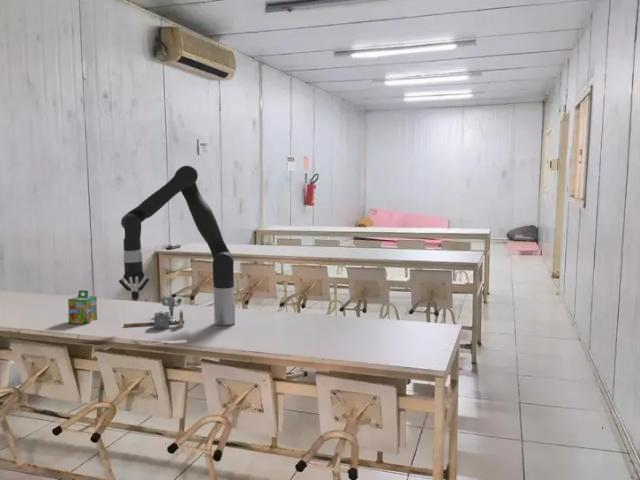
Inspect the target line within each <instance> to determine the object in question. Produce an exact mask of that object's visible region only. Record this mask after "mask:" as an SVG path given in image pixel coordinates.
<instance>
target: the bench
mask: <svg viewBox="0 0 640 480" xmlns="http://www.w3.org/2000/svg"><path fill="white" fill-rule="evenodd" d="M178 311H179V315H178V316H179V320H176V323H169V326H170V325H179V329H181V328H184V324H185V320H184V310H183V309H179V310H178ZM148 326H149V327H152V326H153V327H155V321H150V322H148V321H147V322H135V323H134V322H133V323H131V322H130V323H123V328H131V327H133V328H134V327H148Z"/></svg>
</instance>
